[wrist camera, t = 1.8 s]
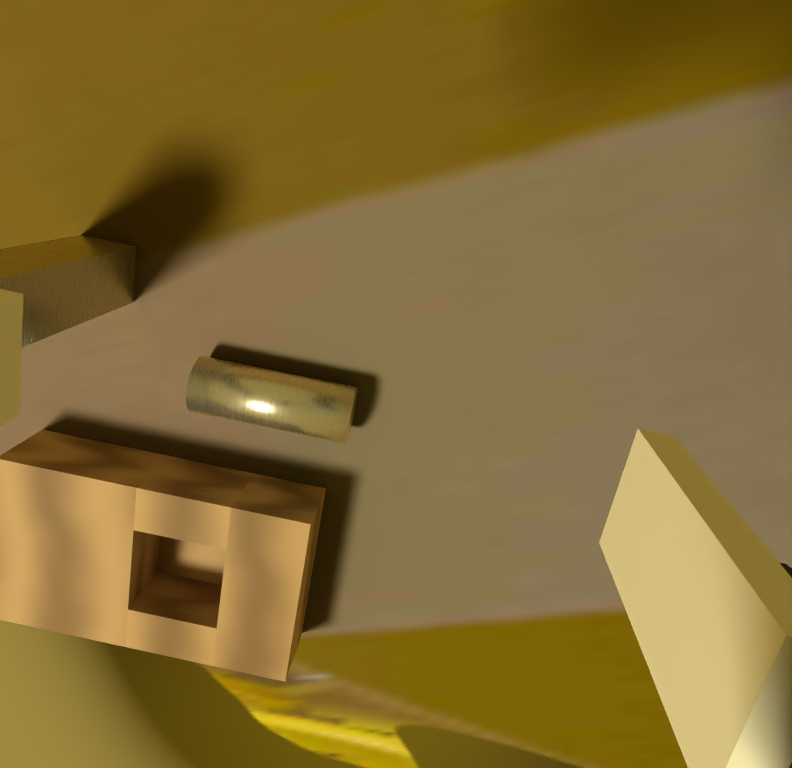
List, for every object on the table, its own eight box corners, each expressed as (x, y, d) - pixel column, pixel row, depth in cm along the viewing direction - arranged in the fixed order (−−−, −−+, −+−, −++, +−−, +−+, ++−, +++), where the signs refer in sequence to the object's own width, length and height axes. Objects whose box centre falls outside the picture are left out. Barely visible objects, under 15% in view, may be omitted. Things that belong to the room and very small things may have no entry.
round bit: (359, 382, 45) (352, 393, 41) (350, 434, 46) (342, 450, 42) (210, 352, 45) (190, 360, 42) (203, 404, 46) (183, 417, 42)
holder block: (325, 488, 47) (310, 524, 42) (301, 633, 51) (285, 681, 46) (42, 429, 47) (-4, 458, 43) (39, 577, 51) (-4, 618, 46)
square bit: (136, 246, 43) (-41, 288, 28) (133, 302, 44) (-40, 372, 29) (81, 235, 43) (-126, 271, 28) (79, 291, 44) (-122, 355, 29)
